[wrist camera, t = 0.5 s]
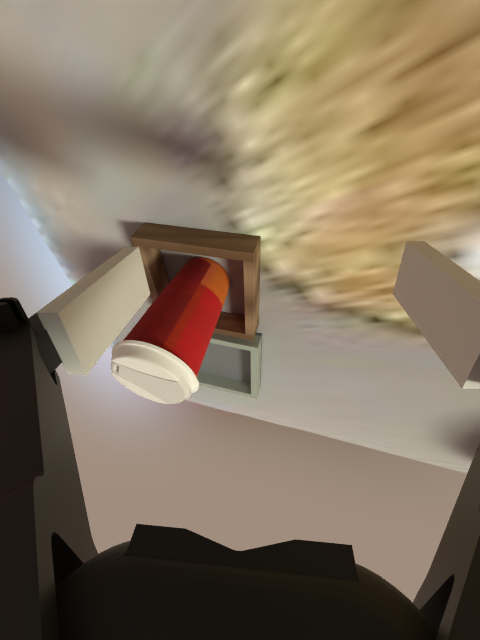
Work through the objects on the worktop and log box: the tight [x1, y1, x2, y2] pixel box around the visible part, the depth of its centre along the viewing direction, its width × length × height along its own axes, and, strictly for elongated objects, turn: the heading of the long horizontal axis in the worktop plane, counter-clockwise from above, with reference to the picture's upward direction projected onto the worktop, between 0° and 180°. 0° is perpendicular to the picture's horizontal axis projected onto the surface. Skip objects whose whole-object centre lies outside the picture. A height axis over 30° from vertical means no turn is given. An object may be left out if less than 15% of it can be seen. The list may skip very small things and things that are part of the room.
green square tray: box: [197, 333, 262, 399], centre depth 46 cm, size 14×14×2 cm
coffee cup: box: [111, 257, 230, 404], centre depth 30 cm, size 8×8×15 cm
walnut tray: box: [131, 223, 261, 341], centre depth 34 cm, size 13×13×3 cm
